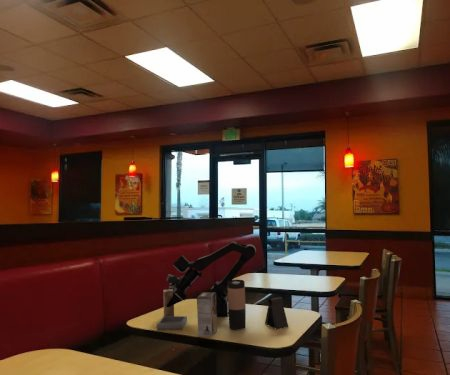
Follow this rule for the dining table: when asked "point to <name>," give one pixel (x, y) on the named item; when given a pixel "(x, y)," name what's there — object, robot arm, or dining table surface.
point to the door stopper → (276, 313)
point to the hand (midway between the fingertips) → (165, 304)
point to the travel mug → (236, 304)
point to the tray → (172, 323)
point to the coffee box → (207, 314)
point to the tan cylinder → (166, 297)
